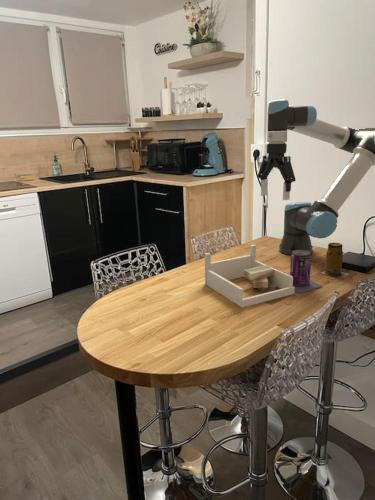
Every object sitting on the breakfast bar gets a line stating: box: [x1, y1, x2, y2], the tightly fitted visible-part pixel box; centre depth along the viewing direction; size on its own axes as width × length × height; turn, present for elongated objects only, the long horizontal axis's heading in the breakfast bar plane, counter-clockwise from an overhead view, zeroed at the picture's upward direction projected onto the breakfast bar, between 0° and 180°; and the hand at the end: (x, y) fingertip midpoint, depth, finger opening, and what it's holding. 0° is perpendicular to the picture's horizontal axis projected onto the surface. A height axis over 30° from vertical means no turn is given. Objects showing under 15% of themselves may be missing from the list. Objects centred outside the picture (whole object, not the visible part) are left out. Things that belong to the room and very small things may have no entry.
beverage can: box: [289, 250, 312, 286], centre depth 139 cm, size 7×7×12 cm
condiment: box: [320, 242, 350, 279], centre depth 149 cm, size 7×8×12 cm
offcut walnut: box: [248, 279, 277, 293], centre depth 141 cm, size 5×12×2 cm, turn 16°
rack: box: [204, 244, 295, 308], centre depth 137 cm, size 22×24×12 cm
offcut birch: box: [243, 264, 275, 280], centre depth 140 cm, size 5×10×2 cm, turn 117°
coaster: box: [293, 280, 323, 294], centre depth 140 cm, size 11×11×1 cm
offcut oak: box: [251, 277, 268, 289], centre depth 140 cm, size 5×11×2 cm, turn 175°
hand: (274, 197), depth 154 cm, fingers open, 13 cm apart
